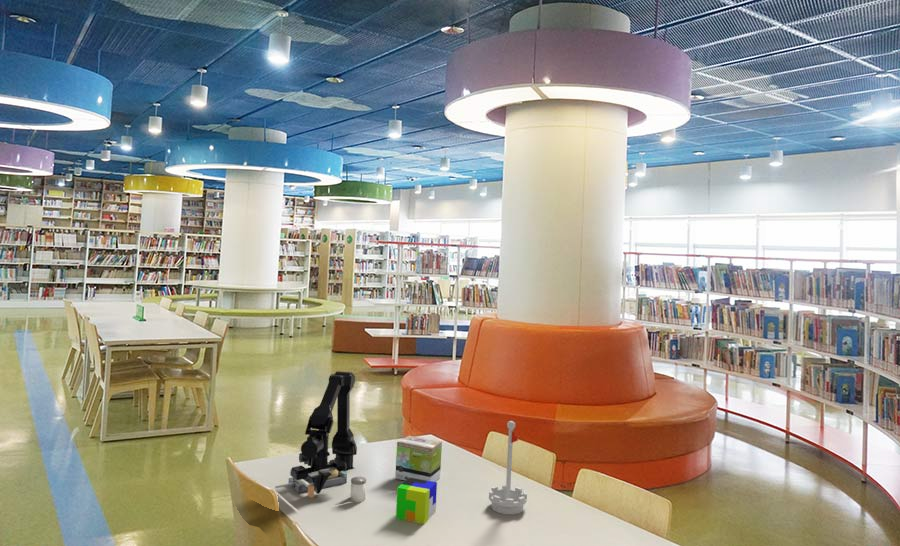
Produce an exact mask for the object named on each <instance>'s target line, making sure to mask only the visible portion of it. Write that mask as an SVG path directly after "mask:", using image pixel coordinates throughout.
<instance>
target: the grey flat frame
mask: <svg viewBox="0 0 900 546" xmlns="http://www.w3.org/2000/svg"><path fill="white" fill-rule="evenodd" d="M303 480H305V481H306V482H308V483H309V484H312V485H314V484H313V481H312V479H311V478H310V477H309V476H308V477H307V478H306V479H303ZM347 481H348V473H347V472H345V471H340V472H339V471H338V478H335V479H330V480H326V482H325V484H324V486H323V488H322V489H325V488H329V487H333V486H340V485H343V484H347ZM294 482H295V480H294V478H293V477H292V476H291V477H288V483H287V484H289V483H294ZM290 487H291V488H292V489H294V490H295V491H296V492H297V493H299V494H302V493H308V487H306V486H305V485H300V484H299V483H296V484H294V485H290ZM314 491H316V490H315V487H314Z"/></svg>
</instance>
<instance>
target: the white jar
mask: <svg viewBox="0 0 900 546" xmlns="http://www.w3.org/2000/svg"><path fill="white" fill-rule="evenodd" d="M366 483H367V478H366V477H365V476H355V477H351V478H350V499H351V502H353V503H362V502H365V500H366V488H367V487H366V486H367V484H366Z"/></svg>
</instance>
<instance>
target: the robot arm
mask: <svg viewBox="0 0 900 546" xmlns="http://www.w3.org/2000/svg"><path fill="white" fill-rule="evenodd" d="M355 383H356V375H355V374H354V373H353V372H352V371H340V370H338V371H337V370H336V372H334V373H332V374H330V375H329V378H328V384H327V386H326V388H325V391H324V393H323V397H322V399H321V401H320V404H319V405H318V406H316V407H314V409H313V411H312V413H311V415H310V416H309V418H308V422H307V425H306V429H305V432H304V435H306V436H307V437H306V440H305V441H304V442H303V443H302V444H301V447H300V451H301V452H300V453H298V461H299V463H303V464H304V465H307V467H305V466H303V465H298V466H292V468H291V469H290V472H289V473H290V474H289V475H290V476H291V478H292V477H293V478H295V479H296V480H301V479H306V478H307V477H308V476H309V477H310V478H311V479H312V481H313V484H314V487H315V490H314V491H315V493H316V495H318V494H321V491H322V490H323V489H324V488H323V486H324V484H325V482H326V480H327V479H328V477H329V476H331V473H330V469H335V468H336V470H337V471H339V472H340V471H344V472H345V471H350V470H355V469H356V468H355V467H354V456H356V455H357V451H358V446H357V444H356V441H355V440H354V437H355V435H354V433H353V431H352V430H351V428H350V421H351V419H350V414H351V413H350V407H351V404H350V401H351V400H350V395H351V394H350V393H351V391H352V390H353V389H354V388H355V387H354V386H355ZM336 402H337V409H336V411H337V413H336V415H337V419H336V421H337V423H336V424H337V428H336V429H337V430H336V432H335V434H334V436H333V437H332V442H331V452H332V455H335V457H334V458H333V459H330V460H329V457H330V452H329V439H330V438H329V437H330V435H329V434H330V433H331V432H332V429H333V425H334V423H335V422H334V416H333V411H334V407H335V404H336ZM328 462H329V464H327V463H328Z"/></svg>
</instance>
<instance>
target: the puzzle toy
mask: <svg viewBox="0 0 900 546" xmlns="http://www.w3.org/2000/svg"><path fill="white" fill-rule="evenodd" d="M437 489H438V482H437V481H436V482H432V481H426V480H421V479H415V478H410V477H409V478H408V479H407V480H406V481H405V480H404V481H403V482H402V483H401V484H399V486H397V487H396V508H395V510H396V511H395V518H396V519H399V520H403V521H409V522H413V523H418V524H424V525H425V524H426V523H427V522H428V521H429V520H430V519H431V517H432V516H433V515H434V514H435V513H436V509H437V507H436V506H437V491H438V490H437Z"/></svg>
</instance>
